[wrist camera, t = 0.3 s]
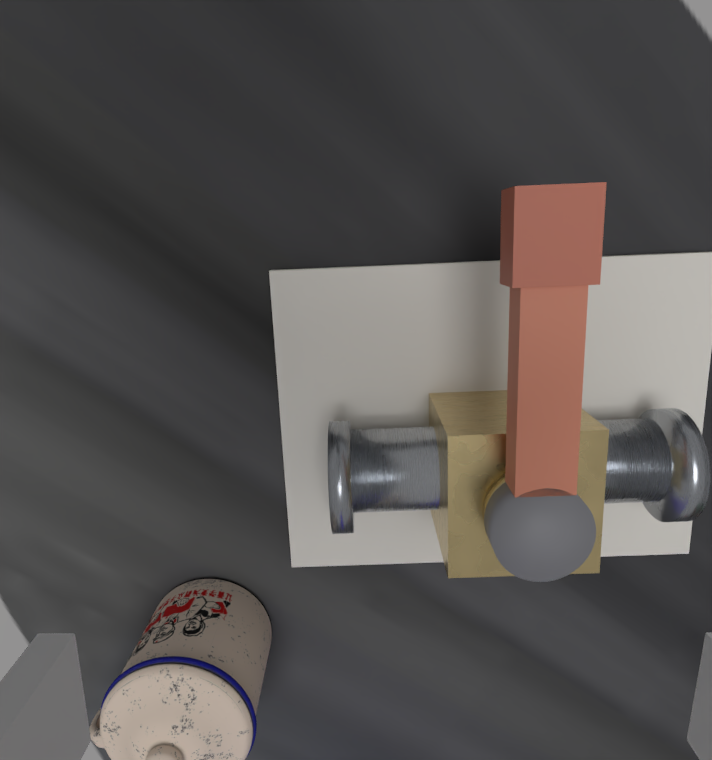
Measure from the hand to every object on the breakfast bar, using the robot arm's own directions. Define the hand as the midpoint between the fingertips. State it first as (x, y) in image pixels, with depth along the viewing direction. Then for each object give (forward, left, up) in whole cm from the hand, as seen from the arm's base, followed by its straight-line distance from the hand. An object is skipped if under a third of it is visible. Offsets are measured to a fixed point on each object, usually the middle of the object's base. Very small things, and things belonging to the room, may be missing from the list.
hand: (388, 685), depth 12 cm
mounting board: (+3, +8, -26) cm, 27 cm away
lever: (-2, +8, -16) cm, 18 cm away
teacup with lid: (+19, -13, -26) cm, 35 cm away
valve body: (+5, +8, -25) cm, 27 cm away
